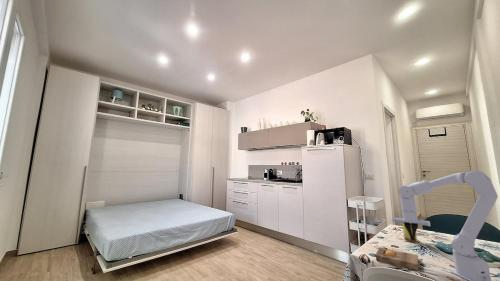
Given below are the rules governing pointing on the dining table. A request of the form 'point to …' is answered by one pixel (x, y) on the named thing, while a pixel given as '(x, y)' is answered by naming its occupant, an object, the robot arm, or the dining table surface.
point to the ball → (390, 253)
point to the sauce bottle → (406, 234)
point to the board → (398, 258)
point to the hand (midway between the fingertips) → (412, 239)
